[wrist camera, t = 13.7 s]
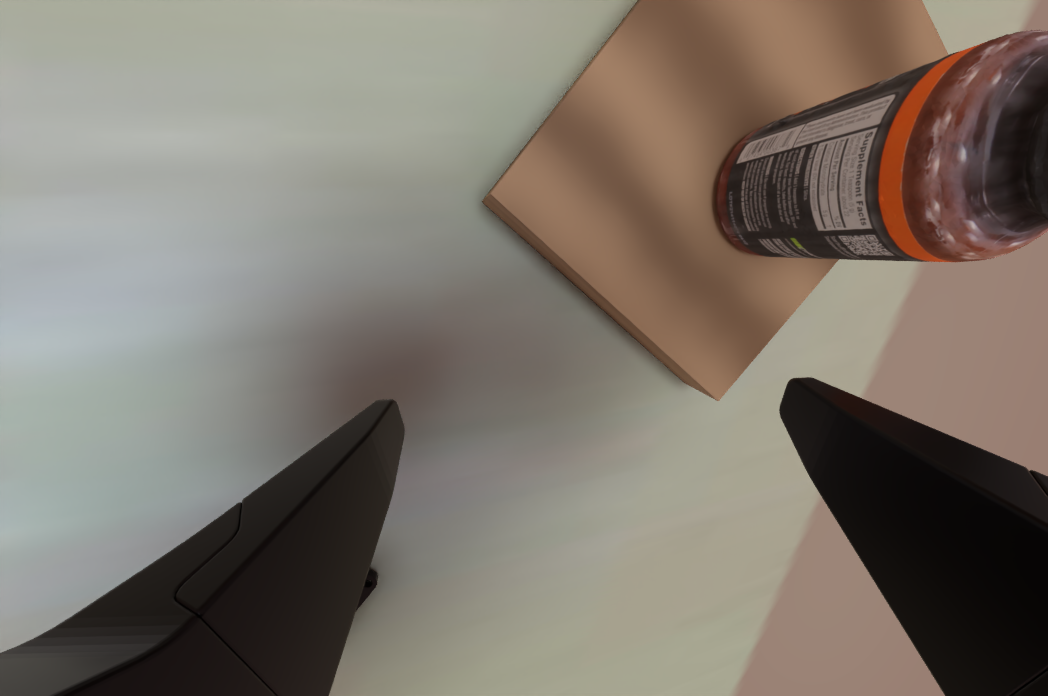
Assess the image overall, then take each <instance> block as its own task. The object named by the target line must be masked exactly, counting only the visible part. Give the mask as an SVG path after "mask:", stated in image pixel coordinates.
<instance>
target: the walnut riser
mask: <svg viewBox="0 0 1048 696" xmlns="http://www.w3.org/2000/svg"><path fill="white" fill-rule="evenodd" d="M945 56H948V53H947V51H946V49H945V47H944V45H943V43H942V41H941V39H940V36H939V34H938V32H937V30H936V28H935V26H934V24H933V22H932V20H931V18H930V16H929V14H928V12H927V10H926V8H925V6H924V4H923V2H922V0H638V1H637V3H636V4H635V5H634V6H633V8H632V9H631V10H630V12H629V13H628V14H627V15H626V17H625V18H624V19H623V21H622V22H621V23H620V24H619V26H618V27H617V28H616V30H615V31H614V32H613V33H612V35H611V36H610V37H609V39H608V40H607V41H606V42H605V44H604V45H603V46H602V48H601V49H600V50H599V51H598V53H597V54H596V55H595V57H594V58H593V59H592V60H591V62H590V63H589V64H588V66H587V67H586V68H585V69H584V71H583V72H582V73H581V75H580V76H579V77H578V78H577V80H576V81H575V82H574V84H573V85H572V86H571V87H570V89H569V90H568V91H567V93H566V94H565V95H564V96H563V98H562V99H561V100H560V102H559V103H558V104H557V105H556V107H555V108H554V109H553V111H552V112H551V113H550V115H549V116H548V117H547V118H546V120H545V121H544V122H543V124H542V125H541V126H540V127H539V129H538V130H537V131H536V133H535V134H534V135H533V136H532V138H531V139H530V140H529V142H528V143H527V144H526V145H525V147H524V148H523V149H522V151H521V152H520V153H519V154H518V156H517V157H516V158H515V160H514V161H513V162H512V163H511V165H510V166H509V167H508V169H507V170H506V171H505V172H504V174H503V175H502V176H501V178H500V179H499V180H498V181H497V183H496V184H495V185H494V187H493V188H492V189H491V190H490V192H489V193H488V194H487V196H486V197H485V198H484V199H483V201H482V202H483V203H484V204H485V205H486V206H487V207H488V208H490V209H491V210H492V211H493V212H494V213H495V214H496V215H497V216H499V217H500V218H501V219H502V220H503V221H504V222H505V223H506V224H508V225H509V226H510V227H511V228H512V229H513V230H514V231H515V232H516V233H518V234H519V235H520V236H521V237H522V238H523V239H524V240H525V241H527V242H528V243H529V244H530V245H531V246H532V247H533V248H534V249H535V250H537V251H538V252H539V253H540V254H541V255H542V256H543V257H544V258H546V259H547V260H548V261H549V262H550V263H551V264H552V265H553V266H554V267H556V268H557V269H558V270H559V271H560V272H561V273H562V274H563V275H565V276H566V277H567V278H568V279H569V280H570V281H571V282H572V283H574V284H575V285H576V286H577V287H578V288H579V289H580V290H581V291H582V292H584V293H585V294H586V295H587V296H588V297H589V298H590V299H591V300H593V301H594V302H595V303H596V304H597V305H598V306H599V307H600V308H601V309H603V310H604V311H605V312H606V313H607V314H608V315H609V316H610V317H612V318H613V319H614V320H615V321H616V322H617V323H618V324H619V325H621V326H622V327H623V328H624V329H625V330H626V331H627V332H628V333H629V334H631V335H632V336H633V337H634V338H635V339H636V340H637V341H638V342H640V343H641V344H642V345H643V346H644V347H645V348H646V349H647V350H648V351H650V352H651V353H652V354H653V355H654V356H655V357H656V358H657V359H659V360H660V361H661V362H662V363H663V364H664V365H665V366H666V367H668V368H669V369H670V370H671V371H672V372H673V373H674V374H675V375H676V376H678V377H679V378H680V379H681V380H682V381H683V382H684V383H686V384H688V385H689V386H691V387H693V388H695V389H697V390H699V391H700V392H702V393H704V394H706V395H708V396H710V397H711V398H713V399H715V400H717V401H719V400H720V399H721V398H722V396H723V395H724V394H725V393H726V392H727V391H728V389H729V388H730V387H731V386H732V385H733V383H734V382H735V381H736V380H737V379H738V378H739V376H740V375H741V374H742V373H743V372H744V370H745V369H746V368H747V367H748V366H749V365H750V363H751V362H752V361H753V360H754V359H755V358H756V356H757V355H758V354H759V353H760V352H761V350H762V349H763V348H764V347H765V346H766V345H767V343H768V342H769V341H770V340H771V339H772V338H773V336H774V335H775V334H776V333H777V332H778V330H779V329H780V328H781V327H782V326H783V325H784V323H785V322H786V321H787V320H788V319H789V318H790V316H791V315H792V314H793V313H794V312H795V310H796V309H797V308H798V307H799V306H800V305H801V303H802V302H803V301H804V300H805V299H806V297H807V296H808V295H809V294H810V293H811V292H812V290H813V289H814V288H815V287H816V286H817V285H818V283H819V282H820V281H821V280H822V279H823V277H824V276H825V275H826V274H827V273H828V272H829V270H830V269H831V268H832V267H833V266H834V265H835V263H836V262H837V261H838V260H839V259H817V258H786V257H765V256H757V255H752V254H749V253H747V252H745V251H743V250H741V249H739V248H738V247H737V246H735V245H734V244H733V243H732V242H731V241H730V240H729V239H728V237H727V236H726V234H725V233H724V231H723V229H722V227H721V225H720V223H719V218H718V215H717V205H716V194H717V183H718V181H719V177H720V173H721V171H722V169H723V166H724V164H725V162H726V160H727V159H728V157H729V156H730V154H731V152H732V151H733V149H734V148H735V147H736V145H737V144H738V143H739V142H740V141H741V140H742V139H743V138H744V137H746V136H747V135H749V134H750V133H752V132H753V131H755V130H756V129H758V128H761V127H763V126H765V125H767V124H769V123H771V122H773V121H776V120H779V119H782V118H784V117H786V116H788V115H791V114H795V113H798V112H800V111H803V110H806V109H808V108H811V107H814V106H816V105H818V104H821V103H824V102H827V101H830V100H833V99H835V98H838V97H840V96H842V95H845V94H848V93H851V92H853V91H856V90H859V89H861V88H864V87H867V86H870V85H873V84H875V83H877V82H880V81H882V80H885V79H888V78H891V77H894V76H896V75H899V74H902V73H905V72H907V71H910V70H913V69H915V68H917V67H920V66H922V65H925V64H928V63H931V62H934V61H937V60H939V59H941V58H943V57H945Z"/></svg>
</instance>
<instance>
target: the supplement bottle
mask: <svg viewBox="0 0 1048 696" xmlns="http://www.w3.org/2000/svg"><path fill="white" fill-rule="evenodd" d="M716 205H717V215H718V218H719V223H720V225H721V227H722V229H723V231H724V233H725V234H726V236H727V237H728V239H729V240H730V241H731V242H732V243H733V244H734V245H735V246H737V247H738V248H739V249H741V250H743V251H745V252H747V253H749V254H752V255H757V256H765V257H786V258H817V259H850V260H892V261H921V262H923V261H933V262H964V261H977V260H986V259H991V258H995V257H998V256H1002V255H1005V254H1008V253H1010V252H1012V251H1014V250H1017V249H1019V248H1021V247H1023V246H1025V245H1027V244H1029V243H1030V242H1032V241H1033V240H1035V239H1036V238H1038V237H1040V236H1041V235H1043V234H1044V233H1045V232H1047V231H1048V31H1042V30H1031V31H1024V32H1016V33H1013V34H1010V35H1004V36H1002V37H999V38H996V39H993V40H990V41H987V42H985V43H982V44H980V45H977V46H974V47H972V48H969V49H966V50H963V51H960V52H956V53H953V54H950V55H948V56H945V57H943V58H941V59H939V60H937V61H934V62H931V63H928V64H925V65H922V66H920V67H917V68H915V69H913V70H910V71H907V72H905V73H902V74H899V75H896V76H894V77H891V78H888V79H885V80H882V81H880V82H877V83H875V84H873V85H870V86H867V87H864V88H861V89H859V90H856V91H853V92H851V93H848V94H845V95H842V96H840V97H838V98H835V99H833V100H830V101H827V102H824V103H821V104H818V105H816V106H814V107H811V108H808V109H806V110H803V111H800V112H798V113H795V114H791V115H788V116H786V117H784V118H782V119H779V120H776V121H773V122H771V123H769V124H767V125H765V126H763V127H761V128H758V129H756V130H755V131H753V132H752V133H750V134H749V135H747V136H746V137H744V138H743V139H742V140H741V141H740V142H739V143H738V144H737V145H736V147H735V148H734V149H733V151H732V152H731V154H730V156H729V157H728V159H727V160H726V162H725V164H724V166H723V169H722V171H721V173H720V177H719V181H718V183H717V194H716Z"/></svg>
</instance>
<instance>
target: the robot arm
mask: <svg viewBox="0 0 1048 696" xmlns="http://www.w3.org/2000/svg"><path fill="white" fill-rule="evenodd" d="M779 411H780V416H781V419H782V421H783V423H784V425H785V427H786V429H787V431H788V434H789V436H790V438H791V440H792V442H793V444H794V446H795V448H796V450H797V452H798V454H799V456H800V458H801V461H802V463H803V465H804V467H805V469H806V471H807V472H808V474H809V476H810V478H811V480H812V481H813V483H814V485H815V487H816V488H817V490H818V491H819V493H820V495H821V496H822V498H823V500H824V501H825V503H826V504H827V506H828V508H829V509H830V511H831V512H832V514H833V516H834V517H835V519H836V520H837V522H838V524H839V525H840V527H841V528H842V530H843V532H844V533H845V535H846V537H847V538H848V540H849V541H850V543H851V545H852V546H853V548H854V550H855V551H856V553H857V554H858V556H859V558H860V559H861V561H862V562H863V564H864V566H865V567H866V569H867V570H868V572H869V574H870V575H871V577H872V579H873V580H874V582H875V583H876V585H877V587H878V588H879V590H880V591H881V593H882V595H883V596H884V598H885V600H886V601H887V602H888V604H889V606H890V608H891V609H892V611H893V612H894V614H895V616H896V617H897V619H898V620H899V622H900V623H901V625H902V627H903V628H904V630H905V632H906V633H907V635H908V637H909V638H910V640H911V641H912V643H913V645H914V646H915V648H916V650H917V651H918V653H919V654H920V656H921V658H922V659H923V661H924V662H925V664H926V666H927V667H928V669H929V670H930V672H931V674H932V675H933V677H934V678H935V680H936V682H937V683H938V685H939V687H940V688H941V690H942V691H943V693H944V694H945V696H1048V476H1045V475H1043V474H1041V473H1038V472H1036V471H1033V470H1030V471H1029V470H1028V469H1027V468H1026V467H1024V466H1021V465H1019V464H1017V463H1014V462H1012V461H1010V460H1007V459H1005V458H1002V457H1000V456H997V455H995V454H993V453H990V452H988V451H986V450H983V449H981V448H978V447H976V446H974V445H971V444H969V443H967V442H964V441H961V440H959V439H957V438H955V437H952V436H950V435H948V434H945V433H943V432H940V431H938V430H936V429H933V428H931V427H928V426H926V425H924V424H921V423H919V422H917V421H914V420H912V419H910V418H907V417H905V416H902V415H900V414H898V413H895V412H893V411H890V410H888V409H885V408H883V407H881V406H879V405H876V404H874V403H871V402H869V401H867V400H864V399H862V398H860V397H857V396H855V395H852V394H850V393H848V392H845V391H843V390H840V389H838V388H836V387H833V386H831V385H829V384H826V383H824V382H821V381H819V380H817V379H814V378H810V377H806V378H793V379H791V380H790V381H789V382H788V384H787V386H786V389H785V392H784V395H783V398H782V401H781V404H780V410H779ZM404 433H405V430H404V424H403V421H402V417H401V414H400V411H399V408H398V405H397V402H396V401H395V400H393V399H389V400H377V401H376V402H374V403H373V404H371V405H370V406H369V407H367V408H366V409H365V410H363V411H362V412H361V413H359V414H358V415H356V416H355V417H354V418H352V419H351V420H350V421H348V422H347V423H346V424H344V425H343V426H342V427H340V428H339V429H338V430H336V431H335V432H333V433H332V434H331V435H329V436H328V437H327V438H325V439H324V440H323V441H321V442H320V443H319V444H317V445H316V446H315V447H313V448H312V449H311V450H309V451H308V452H306V453H305V454H304V455H302V456H301V457H300V458H298V459H297V460H296V461H294V462H293V463H292V464H290V465H289V466H288V467H286V468H285V469H283V470H282V471H281V472H279V473H278V474H277V475H275V476H274V477H273V478H271V479H270V480H269V481H267V482H266V483H265V484H263V485H262V486H260V487H259V488H258V489H256V490H255V491H254V492H252V493H251V494H250V495H248V496H247V497H246V498H244V499H243V500H242V503H241V502H239V503H237V504H236V505H235V506H233V507H232V508H231V509H229V510H228V511H227V512H225V513H224V514H223V515H221V516H220V517H218V518H217V519H216V520H214V521H213V522H211V523H210V524H209V525H207V526H206V527H204V528H203V529H202V530H200V531H199V532H197V533H196V534H195V535H193V536H192V537H190V538H189V539H188V540H186V541H185V542H183V543H182V544H180V545H179V546H177V547H176V548H174V549H173V550H171V551H170V552H168V553H167V554H165V555H164V556H162V557H161V558H159V559H158V560H156V561H155V562H153V563H152V564H150V565H149V566H147V567H146V568H144V569H143V570H141V571H140V572H138V573H137V574H135V575H134V576H132V577H131V578H129V579H128V580H126V581H125V582H123V583H122V584H120V585H119V586H117V587H115V588H114V589H112V590H111V591H109V592H108V593H106V594H105V595H103V596H102V597H100V598H99V599H97V600H96V601H94V602H93V603H91V604H90V605H88V606H87V607H85V608H84V609H82V610H81V611H79V612H78V613H76V614H75V615H73V616H72V617H70V618H68V619H67V620H65V621H64V622H62V623H60V624H59V625H57V626H56V627H54V628H52V629H50V630H49V631H47V632H45V633H43V634H41V635H39V636H38V637H36V638H34V639H31V640H29V641H27V642H25V643H23V644H21V645H19V646H17V647H14V648H12V649H9V650H7V651H4V652H2V653H0V696H329V693H330V690H331V687H332V684H333V681H334V677H335V674H336V671H337V668H338V665H339V662H340V659H341V655H342V652H343V649H344V646H345V643H346V640H347V637H348V633H349V630H350V627H351V624H352V621H353V618H354V615H355V612H356V611H357V609H358V608H359V607H360V606H361V604H362V603H363V602H364V601H365V599H366V598H367V597H368V596H369V595H370V593H371V592H372V591H373V590H374V588H375V587H376V585H377V581H378V575H377V573H375V572H374V571H372V570H370V569H369V567H370V564H371V561H372V558H373V555H374V552H375V549H376V545H377V542H378V539H379V536H380V533H381V530H382V527H383V523H384V520H385V517H386V514H387V511H388V508H389V505H390V501H391V498H392V494H393V490H394V485H395V481H396V475H397V470H398V465H399V460H400V455H401V450H402V445H403V440H404ZM366 580H371V581H370V582H366Z"/></svg>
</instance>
